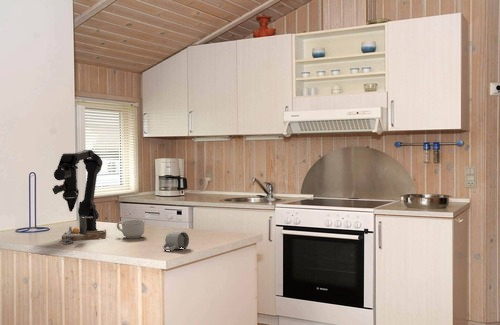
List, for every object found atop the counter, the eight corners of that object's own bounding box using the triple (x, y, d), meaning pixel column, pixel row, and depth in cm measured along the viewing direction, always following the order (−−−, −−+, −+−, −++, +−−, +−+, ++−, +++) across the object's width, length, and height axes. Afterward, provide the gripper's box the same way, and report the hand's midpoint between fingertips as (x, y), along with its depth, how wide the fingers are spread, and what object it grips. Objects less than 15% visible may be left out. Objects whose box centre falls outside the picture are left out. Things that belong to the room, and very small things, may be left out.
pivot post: (61, 244, 242) (60, 238, 242) (62, 242, 247) (62, 236, 247) (72, 243, 243) (72, 237, 243) (73, 241, 248) (73, 235, 248)
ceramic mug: (176, 246, 234) (175, 229, 233) (189, 248, 229) (189, 230, 229) (158, 251, 225) (157, 233, 225) (172, 253, 220) (172, 234, 220)
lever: (62, 237, 243) (62, 218, 243) (67, 231, 258) (66, 214, 258) (86, 236, 245) (85, 217, 245) (89, 230, 260) (88, 213, 260)
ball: (77, 233, 260) (77, 226, 260) (80, 234, 257) (80, 227, 257) (71, 234, 258) (71, 227, 258) (74, 235, 255) (73, 228, 255)
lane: (61, 240, 252) (61, 234, 252) (64, 237, 261) (64, 231, 261) (105, 238, 256) (105, 232, 256) (106, 235, 265) (106, 229, 265)
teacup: (149, 236, 260) (148, 220, 259) (135, 240, 250) (135, 223, 249) (126, 234, 265) (125, 218, 265) (112, 238, 256) (111, 222, 255)
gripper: (55, 177, 268) (56, 208, 269) (50, 180, 250) (52, 213, 251) (78, 177, 271) (79, 207, 271) (75, 179, 252) (76, 212, 253)
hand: (71, 210), depth 262 cm, fingers open, 9 cm apart
